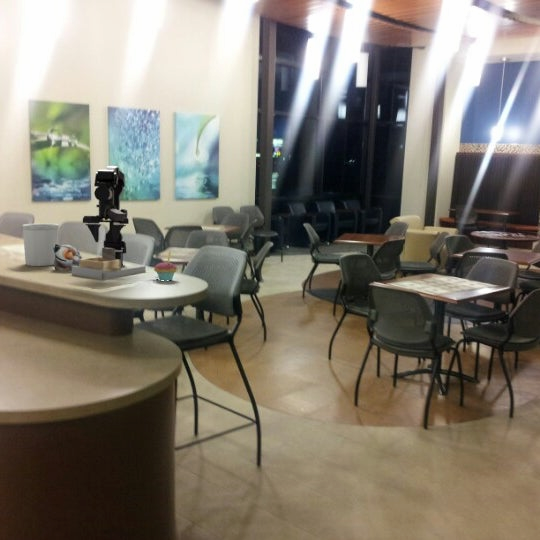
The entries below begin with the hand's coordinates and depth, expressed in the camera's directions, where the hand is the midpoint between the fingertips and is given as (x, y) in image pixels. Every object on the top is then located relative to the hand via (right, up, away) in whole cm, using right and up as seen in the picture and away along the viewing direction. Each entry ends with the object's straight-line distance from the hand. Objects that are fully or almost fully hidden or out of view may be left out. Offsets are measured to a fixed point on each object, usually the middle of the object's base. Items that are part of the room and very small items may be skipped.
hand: (106, 242), depth 231 cm
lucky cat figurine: (-18, -12, +13) cm, 25 cm away
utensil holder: (-36, -9, +28) cm, 47 cm away
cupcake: (+24, -15, -3) cm, 28 cm away
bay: (+1, -13, +3) cm, 14 cm away
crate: (-2, -13, -2) cm, 13 cm away
